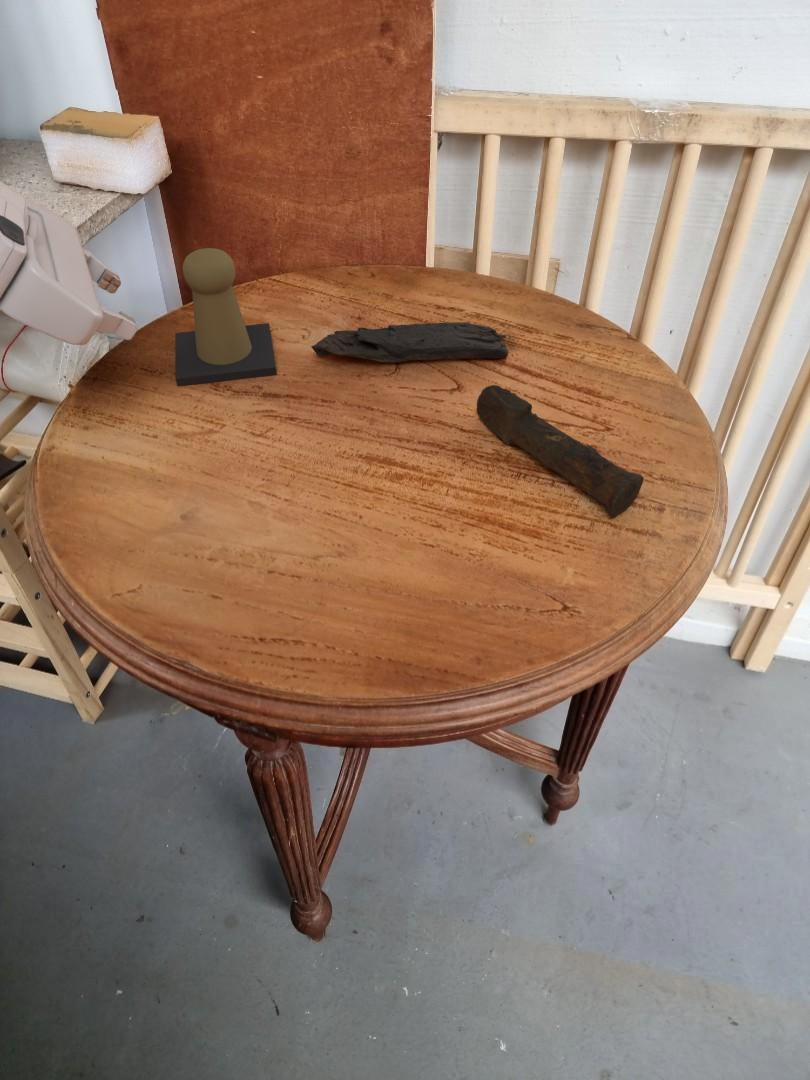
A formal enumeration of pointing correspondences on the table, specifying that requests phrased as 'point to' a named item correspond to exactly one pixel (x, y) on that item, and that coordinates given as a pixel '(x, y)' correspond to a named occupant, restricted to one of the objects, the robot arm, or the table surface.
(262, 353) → the mat
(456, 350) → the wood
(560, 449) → the hand tool
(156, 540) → the table surface
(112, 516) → the table surface
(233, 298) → the olive pawn
